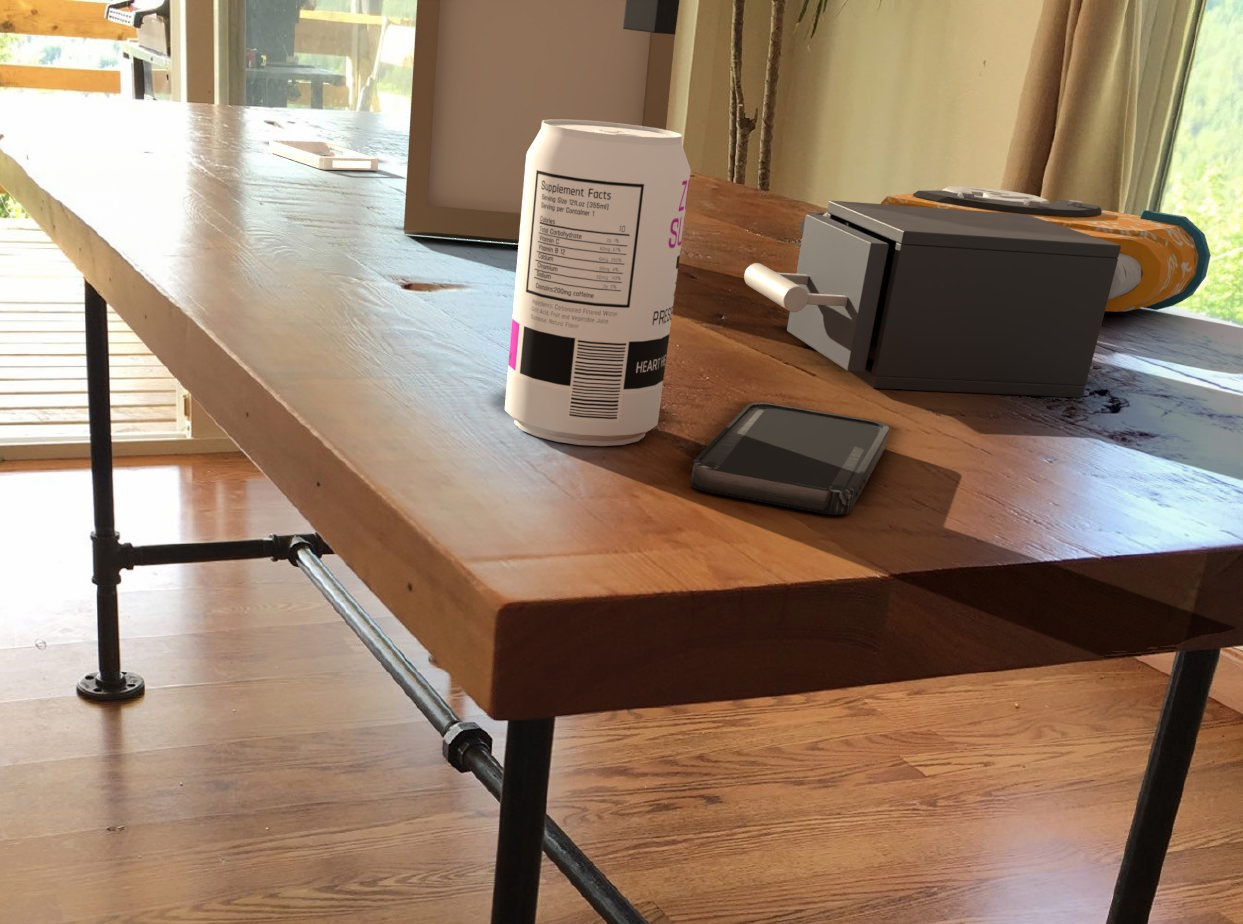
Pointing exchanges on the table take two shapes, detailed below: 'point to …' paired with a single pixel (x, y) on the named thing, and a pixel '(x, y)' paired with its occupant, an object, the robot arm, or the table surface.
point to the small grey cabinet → (985, 301)
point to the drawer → (833, 289)
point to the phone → (792, 458)
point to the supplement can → (595, 280)
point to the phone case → (310, 151)
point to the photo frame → (515, 100)
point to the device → (1150, 244)
